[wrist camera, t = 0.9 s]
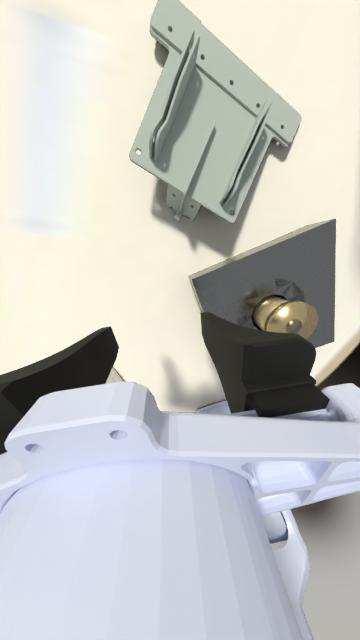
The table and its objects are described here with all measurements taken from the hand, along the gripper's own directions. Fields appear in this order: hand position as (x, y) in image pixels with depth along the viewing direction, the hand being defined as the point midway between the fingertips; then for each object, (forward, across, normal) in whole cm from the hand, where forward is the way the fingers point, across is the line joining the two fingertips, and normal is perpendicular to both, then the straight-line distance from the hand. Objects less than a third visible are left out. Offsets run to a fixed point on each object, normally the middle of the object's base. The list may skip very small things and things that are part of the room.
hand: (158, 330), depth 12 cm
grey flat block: (+10, -14, +4) cm, 17 cm away
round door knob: (+10, -14, +4) cm, 17 cm away
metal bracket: (+12, -7, -14) cm, 20 cm away
